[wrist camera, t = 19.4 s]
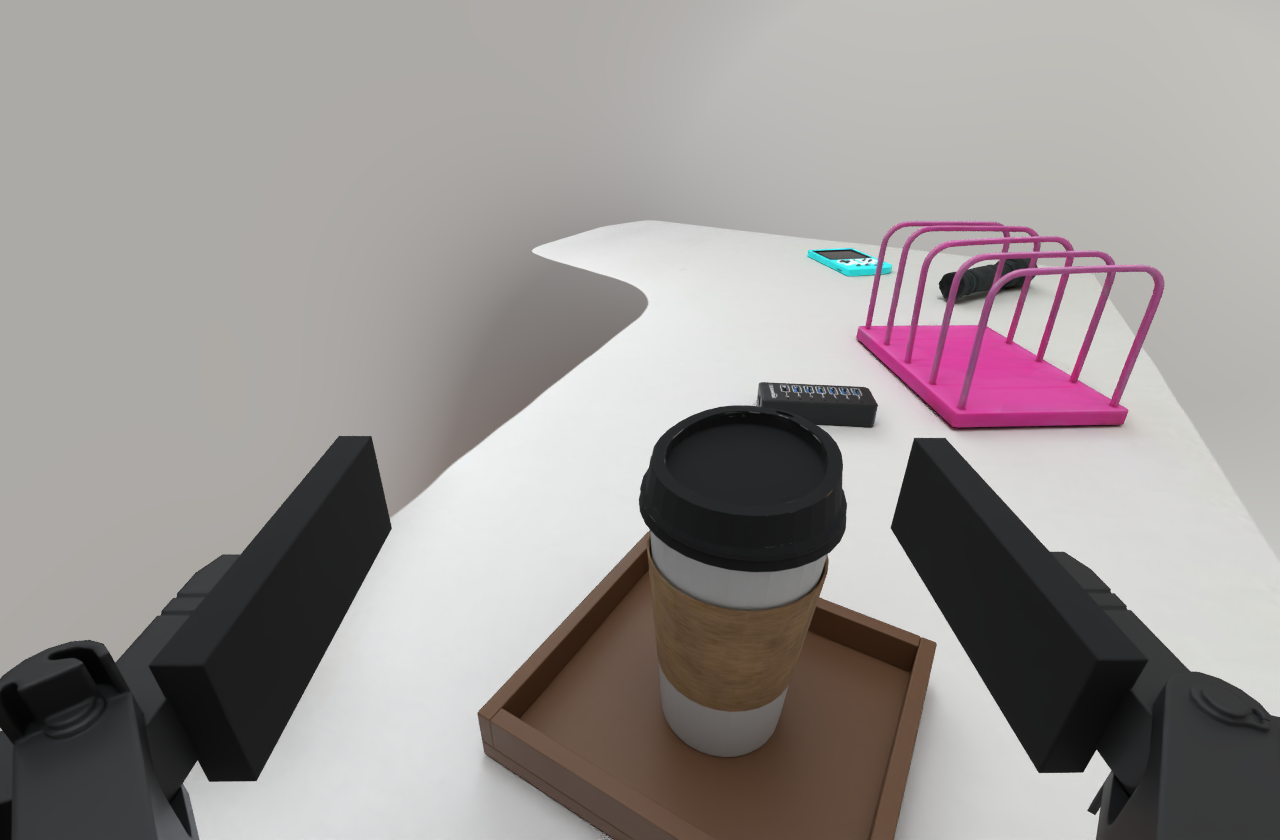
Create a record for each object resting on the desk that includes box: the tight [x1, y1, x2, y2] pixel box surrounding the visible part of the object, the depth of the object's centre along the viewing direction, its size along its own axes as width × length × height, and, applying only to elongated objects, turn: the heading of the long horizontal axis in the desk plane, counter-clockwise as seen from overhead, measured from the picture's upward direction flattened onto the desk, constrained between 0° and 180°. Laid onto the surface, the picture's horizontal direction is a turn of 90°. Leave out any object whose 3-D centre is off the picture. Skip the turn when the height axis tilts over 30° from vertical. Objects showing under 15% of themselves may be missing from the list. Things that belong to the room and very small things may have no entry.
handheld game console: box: [807, 248, 892, 276], centre depth 117 cm, size 10×16×1 cm, turn 13°
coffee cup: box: [639, 406, 847, 757], centre depth 28 cm, size 8×8×15 cm
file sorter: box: [857, 221, 1164, 427], centre depth 67 cm, size 17×25×16 cm
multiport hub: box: [757, 382, 878, 427], centre depth 61 cm, size 4×11×2 cm, turn 85°
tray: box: [478, 532, 936, 840], centre depth 31 cm, size 18×16×3 cm
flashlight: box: [939, 258, 1038, 300], centre depth 100 cm, size 5×21×5 cm, turn 123°
